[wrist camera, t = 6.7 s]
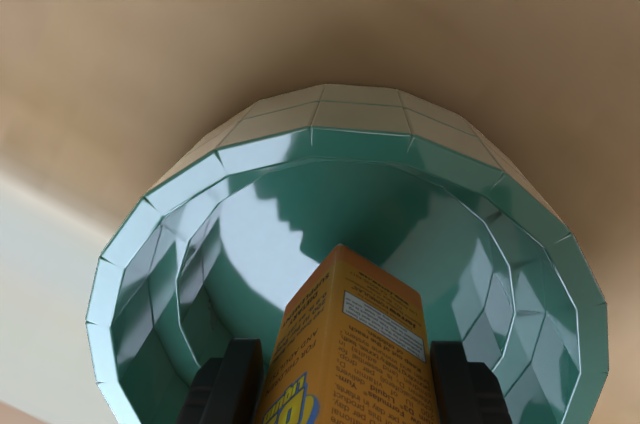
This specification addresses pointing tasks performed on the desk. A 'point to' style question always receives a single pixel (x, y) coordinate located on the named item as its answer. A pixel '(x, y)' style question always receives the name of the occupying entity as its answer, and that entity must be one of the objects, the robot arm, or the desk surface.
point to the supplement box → (350, 351)
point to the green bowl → (359, 235)
